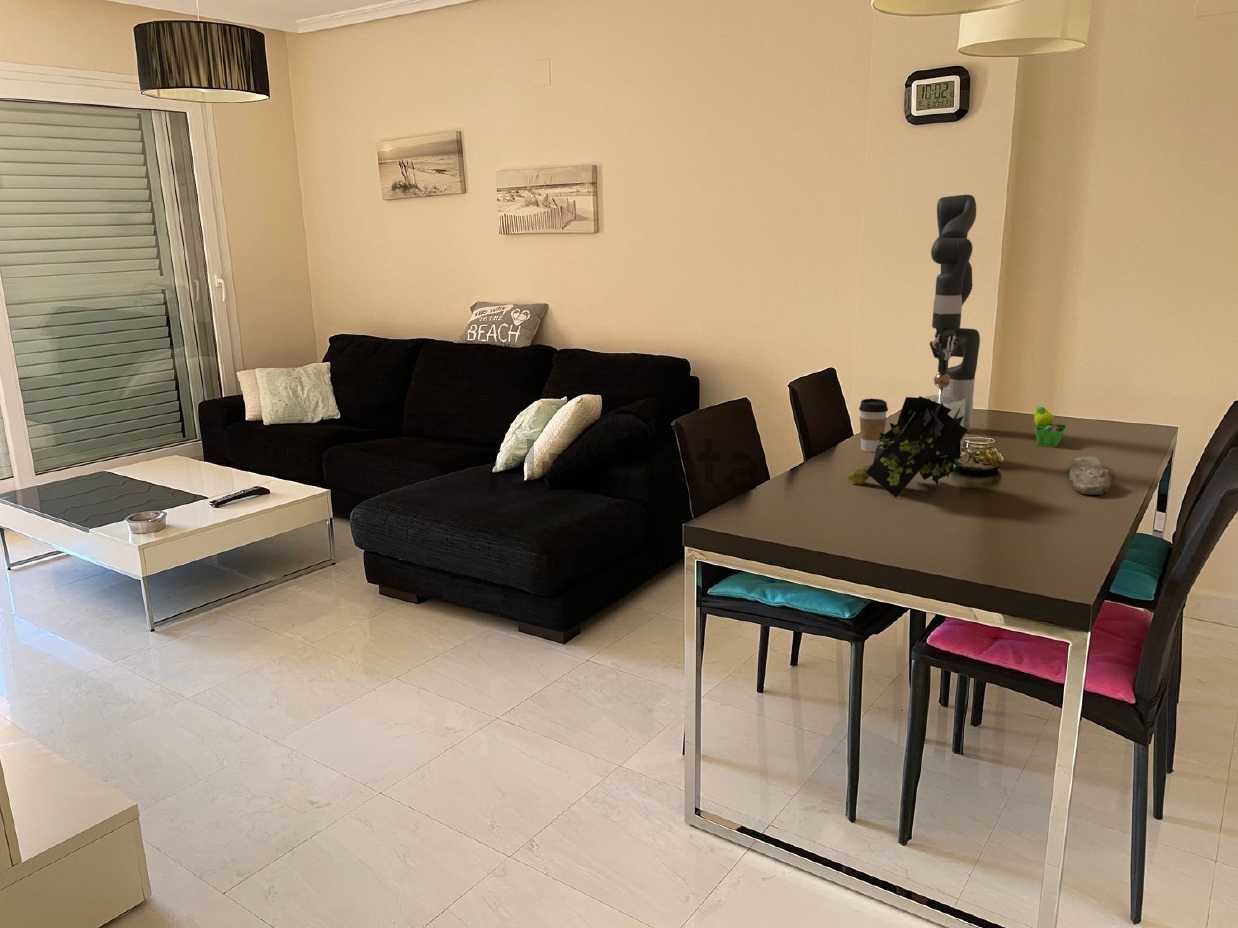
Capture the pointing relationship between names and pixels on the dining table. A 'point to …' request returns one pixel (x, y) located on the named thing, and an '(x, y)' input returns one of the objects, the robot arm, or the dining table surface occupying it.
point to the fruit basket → (1047, 428)
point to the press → (951, 407)
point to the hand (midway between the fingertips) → (942, 372)
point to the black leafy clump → (915, 446)
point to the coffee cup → (872, 422)
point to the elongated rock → (1090, 475)
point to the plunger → (941, 383)
